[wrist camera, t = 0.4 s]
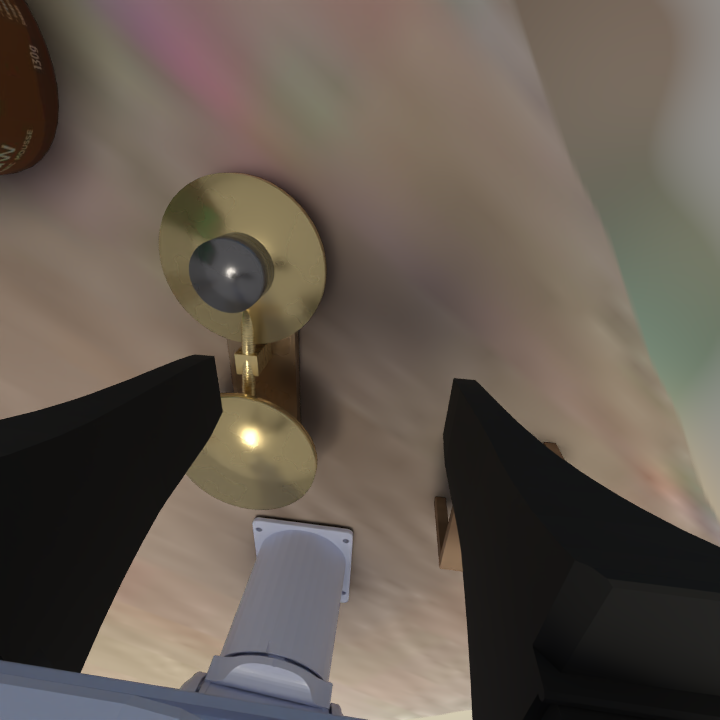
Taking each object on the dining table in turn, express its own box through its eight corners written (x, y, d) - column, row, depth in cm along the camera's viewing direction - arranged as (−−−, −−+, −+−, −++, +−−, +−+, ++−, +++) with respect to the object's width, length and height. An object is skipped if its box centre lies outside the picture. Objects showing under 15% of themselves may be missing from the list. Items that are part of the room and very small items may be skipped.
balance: (329, 462, 26) (315, 517, 22) (219, 448, 27) (186, 500, 23) (335, 176, 17) (313, 181, 13) (173, 166, 18) (105, 168, 14)
